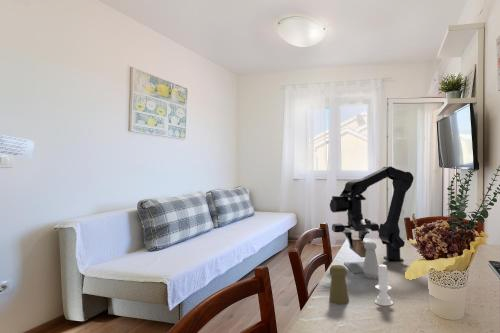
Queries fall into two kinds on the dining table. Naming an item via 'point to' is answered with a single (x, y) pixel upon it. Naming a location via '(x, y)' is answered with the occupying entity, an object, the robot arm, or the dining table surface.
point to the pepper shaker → (338, 285)
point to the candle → (383, 287)
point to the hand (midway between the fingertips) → (355, 247)
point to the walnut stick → (358, 246)
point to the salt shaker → (370, 261)
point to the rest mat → (355, 266)
